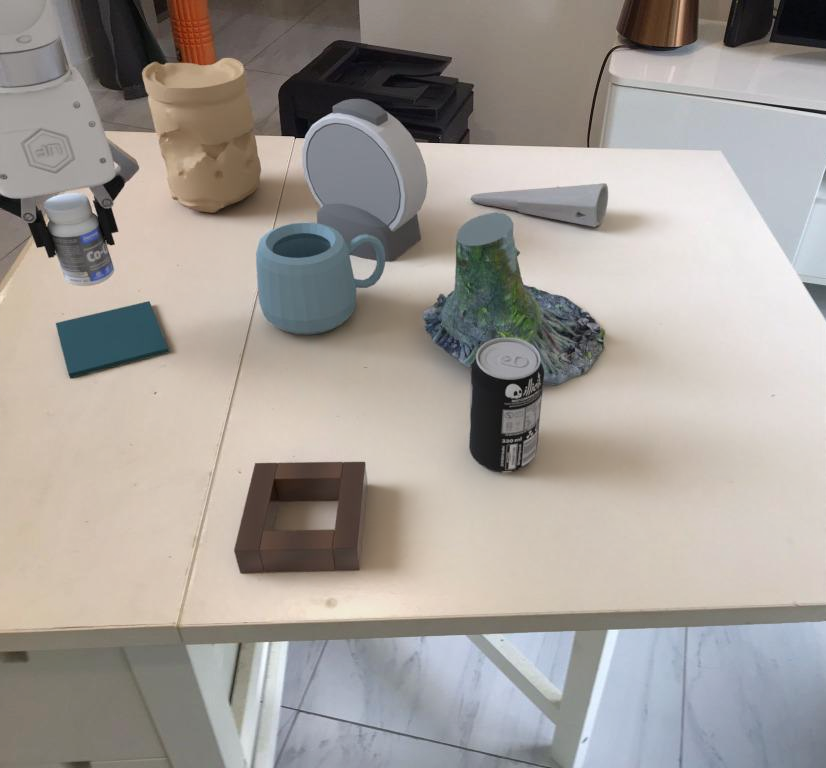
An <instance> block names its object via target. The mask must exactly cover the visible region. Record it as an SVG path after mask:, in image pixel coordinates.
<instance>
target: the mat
mask: <svg viewBox="0 0 826 768" xmlns="http://www.w3.org/2000/svg"><path fill="white" fill-rule="evenodd" d="M154 311H155V310H154V308H153V306H152V304H151V302H150V301H149V300H148V301H144V302H139V303H135V304H131V305H126V306H122V307H118V308H113V309H109V310H105V311H101V312H97V313H93V314H89V315H84V316H79V317H75V318H71V319H67V320H62V321H58V322H55V326H56V330H57V334H58V338H59V342H60V346H61V347H60V348H61V350H62V355H63V358H64V362H65V366H66V370H67V374H68V377H69V379H72V378H76V377H80V376H83V375H87V374H91V373H96V372H100V371H103V370H106V369H110V368H111V369H112V368H114V367H118V366H122V365H125V364H131V363H134V362H137V361H140V360H145V359H149V358H152V357H156V356H160V355H164V354H167V353H168V354H169V353H170V349H169V346H168V343H167V341H166V339H165V335H164V334H163V333H164V332H162V331H163V330H162V328H161V326H160V324H159V321H158V319H157V316H156V314H155V312H154Z"/></svg>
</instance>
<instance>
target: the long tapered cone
mask: <svg viewBox="0 0 826 768" xmlns="http://www.w3.org/2000/svg"><path fill="white" fill-rule="evenodd" d="M470 201H471V202H473V203H475V204H478V205H482V206H488V207H495V208H499V209H505V210H510V211H516V212H518V213H521V214H526V215H531V216H537V217H541V218H546V219H552V220H556V221H562V222H567V223H573V224H577V225H582V226H587V227H592V228H596V227H600V226H601V225H602V223H603V222H604V219H605V216H606V212H607V209H608V204H609V203H608V202H609V187H608V184H607V183H590V184H579V185H567V186H557V187H541V188H529V189H516V190H503V191H493V192H481V193H475V194H471V196H470Z"/></svg>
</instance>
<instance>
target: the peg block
mask: <svg viewBox="0 0 826 768" xmlns="http://www.w3.org/2000/svg"><path fill="white" fill-rule="evenodd" d="M367 473H368V472H367V464H366V461H306V462H305V461H301V462H298V461H296V462H255V463H254V465H253V471H252V475H251V479H250V483H249V487H248V490H247V495H246V499H245V503H244V507H243V512H242V516H241V520H240V524H239V528H238V532H237V536H236V540H235V544H234V549H233V552H234V555H235V559H236V563H237V567H238V570H239V573H240V574H253V573H254V574H256V573H259V574H261V573H300V572H301V573H302V572H335V571H336V572H337V571H338V572H339V571H360V569H361V559H362V549H363V548H362V547H363V537H364V527H365V515H366V504H367V493H368V475H367ZM313 501H314V502H315V501H317V502H319V501H337V508H336V517H335V523H334V524H335V525H334V529H297V530H296V529H293V530H292V529H291V530H290V529H289V530H274V527H275V523H276V516H277V513H278V512H277V511H278V508H279V502H313Z"/></svg>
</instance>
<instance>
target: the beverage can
mask: <svg viewBox="0 0 826 768" xmlns="http://www.w3.org/2000/svg"><path fill="white" fill-rule="evenodd" d="M543 381H544V368H543V365H542V363H541V357H540V354H539V352H538V350H537V349H536V348H535V347H534V346H533V345H532V344H530V343H528V342H526V341H524V340H521V339H517V338H497V339H493V340H490V341H488V342H486V343H484V344H483V345H482V346H481V347H480V348H479V349H478V351H477V355H476V359H475V360H474V362H473V364H472V367H471V368H470V396H469V397H470V400H469V401H470V405H469V407H470V408H469V444H468V446H469V453H470V455H471V456H472V458H473V459H474V460H475V461H476V462H477V463H478V464H479V465H480V466H482V467H484V468H485V469H487V470H490V471H492V472H496V473H511V472H515V471H518V470H521V469H522V468H524V467H526V466H528V465H529V464H530V463H531V462H532V461H533V459H534V458H535V456H536V454H537V449H538V440H539V428H540V421H541V420H540V419H541V410H542V401H543V390H544V386H543Z"/></svg>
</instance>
